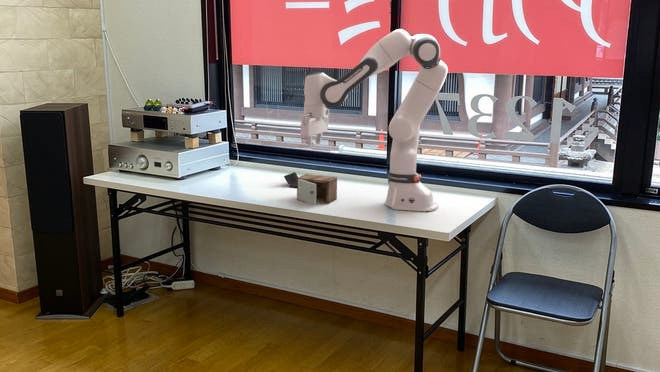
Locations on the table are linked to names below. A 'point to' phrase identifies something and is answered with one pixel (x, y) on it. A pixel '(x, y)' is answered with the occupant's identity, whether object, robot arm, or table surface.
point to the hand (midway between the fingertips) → (314, 144)
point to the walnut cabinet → (322, 187)
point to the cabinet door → (307, 191)
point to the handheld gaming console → (291, 180)
